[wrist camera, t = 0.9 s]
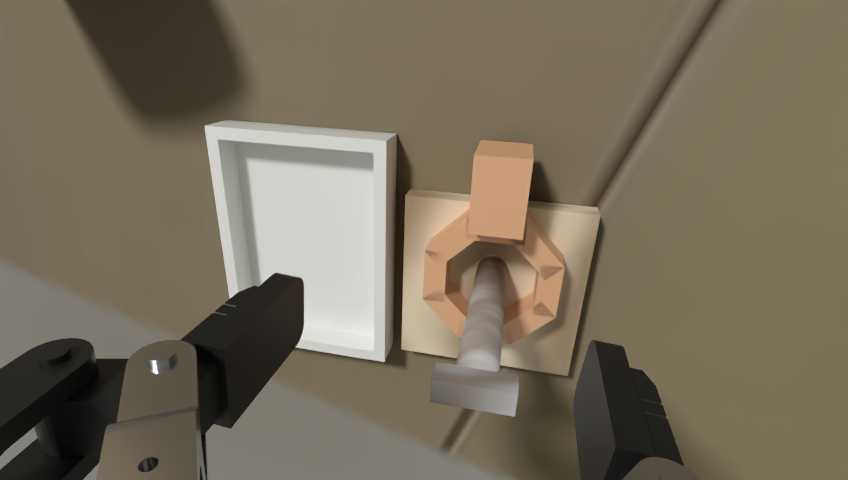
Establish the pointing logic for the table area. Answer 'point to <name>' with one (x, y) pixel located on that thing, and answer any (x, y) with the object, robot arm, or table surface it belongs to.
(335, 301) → the white tray
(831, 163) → the table surface
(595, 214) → the stake board
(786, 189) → the table surface
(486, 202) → the terracotta ring
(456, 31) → the table surface
